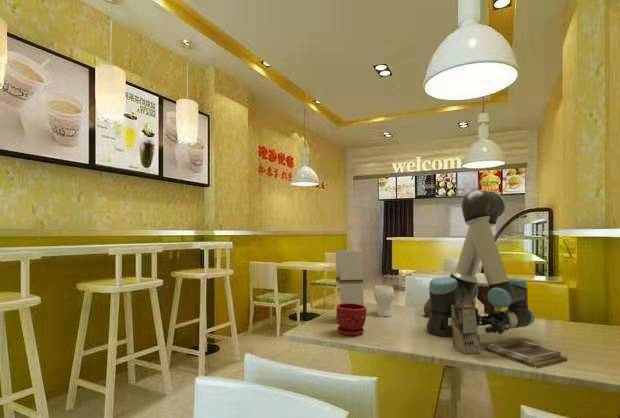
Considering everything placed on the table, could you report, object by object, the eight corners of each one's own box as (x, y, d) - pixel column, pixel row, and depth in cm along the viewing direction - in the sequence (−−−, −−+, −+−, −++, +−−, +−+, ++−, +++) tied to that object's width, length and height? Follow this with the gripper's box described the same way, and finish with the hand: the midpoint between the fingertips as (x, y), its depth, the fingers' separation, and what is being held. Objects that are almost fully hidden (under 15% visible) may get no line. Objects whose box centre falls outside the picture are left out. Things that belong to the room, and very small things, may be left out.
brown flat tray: (484, 349, 133) (483, 342, 133) (513, 344, 140) (512, 337, 140) (536, 368, 115) (535, 360, 115) (567, 360, 121) (566, 353, 122)
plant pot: (345, 338, 148) (345, 309, 149) (331, 330, 160) (331, 304, 161) (372, 335, 153) (371, 307, 153) (357, 327, 165) (356, 301, 166)
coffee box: (480, 353, 129) (479, 308, 130) (463, 353, 129) (462, 309, 130) (467, 345, 139) (466, 303, 140) (451, 345, 138) (450, 304, 139)
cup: (390, 318, 182) (389, 288, 183) (371, 315, 188) (370, 287, 189) (397, 314, 191) (396, 286, 192) (378, 312, 197) (378, 284, 198)
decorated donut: (469, 322, 175) (469, 314, 175) (460, 316, 186) (459, 309, 186) (490, 321, 175) (490, 313, 176) (479, 316, 186) (479, 309, 186)
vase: (438, 318, 182) (438, 301, 182) (424, 317, 183) (424, 300, 184) (436, 315, 188) (436, 298, 189) (423, 314, 190) (422, 298, 190)
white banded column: (357, 317, 184) (356, 250, 186) (363, 323, 173) (362, 251, 175) (336, 318, 182) (335, 250, 184) (340, 324, 172) (340, 251, 174)
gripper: (532, 338, 130) (492, 346, 121) (476, 322, 153) (438, 328, 144) (531, 317, 131) (491, 323, 122) (475, 304, 153) (437, 309, 145)
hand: (462, 326), depth 133 cm, fingers open, 13 cm apart
